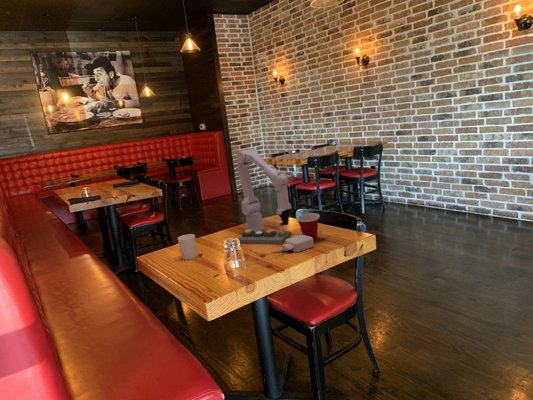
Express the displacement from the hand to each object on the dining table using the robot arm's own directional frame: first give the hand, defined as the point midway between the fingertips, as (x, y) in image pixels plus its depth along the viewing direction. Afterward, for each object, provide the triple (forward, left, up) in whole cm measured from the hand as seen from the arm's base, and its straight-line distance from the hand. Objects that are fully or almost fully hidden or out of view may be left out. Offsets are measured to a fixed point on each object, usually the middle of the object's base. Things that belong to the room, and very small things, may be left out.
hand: (285, 224), depth 201 cm
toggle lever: (+7, 0, -2) cm, 7 cm away
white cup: (+34, -36, -6) cm, 50 cm away
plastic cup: (+8, +15, -6) cm, 18 cm away
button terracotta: (+7, -6, -2) cm, 10 cm away
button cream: (+7, -12, -3) cm, 14 cm away
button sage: (+7, -18, -2) cm, 19 cm away
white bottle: (+20, +11, -6) cm, 24 cm away
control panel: (+7, -10, -5) cm, 13 cm away
